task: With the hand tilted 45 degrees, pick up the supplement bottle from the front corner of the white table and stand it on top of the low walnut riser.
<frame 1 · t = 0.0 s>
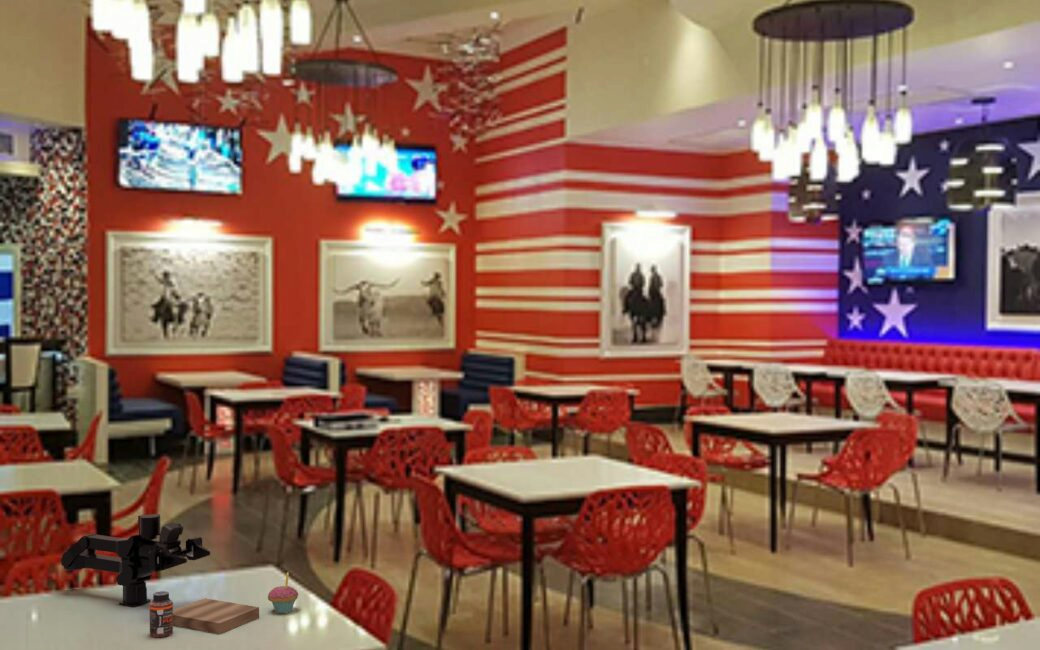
hand: (198, 557, 306), 17 cm above the table, tool horizontal, fingers open, 9 cm apart
walnut riser: (212, 620, 301), on the table
cupcake: (283, 611, 309), on the table
supplement bottle: (161, 635, 289), on the table
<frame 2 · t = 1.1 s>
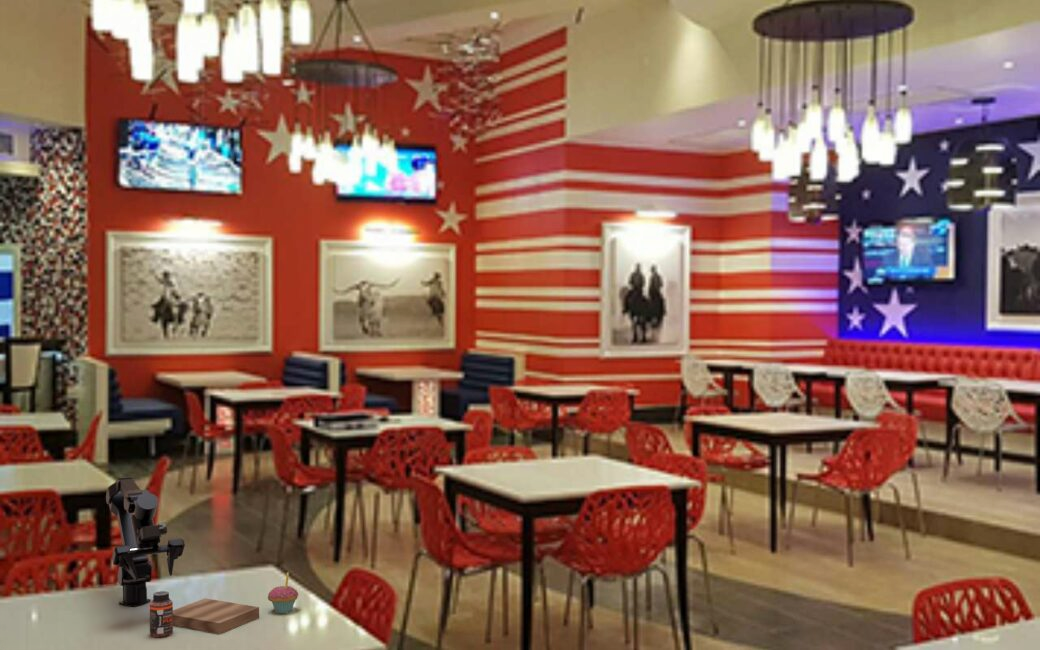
hand: (154, 577, 295), 14 cm above the table, tool tilted 45°, fingers open, 9 cm apart
nothing on the table moved.
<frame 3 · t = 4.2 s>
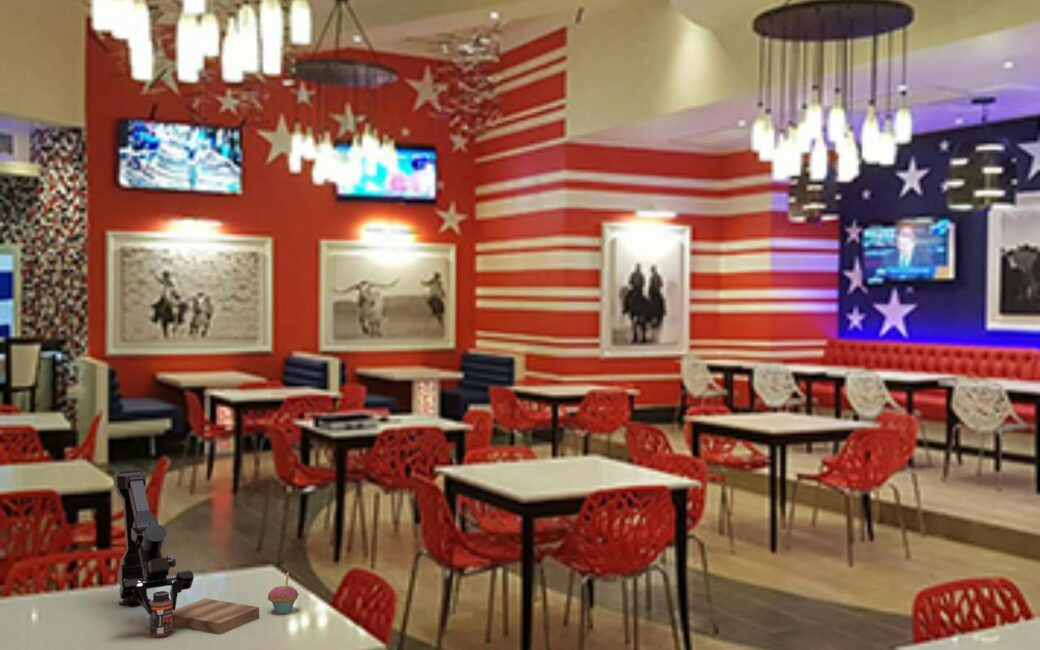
hand: (162, 611, 288), 7 cm above the table, tool tilted 45°, fingers closed on supplement bottle, 6 cm apart
supplement bottle: (161, 635, 289), on the table, touching gripper
everything else where it was.
when the fingers open (10 cm above the table, at t = 8.8 s): supplement bottle stays where it is, resting on walnut riser.
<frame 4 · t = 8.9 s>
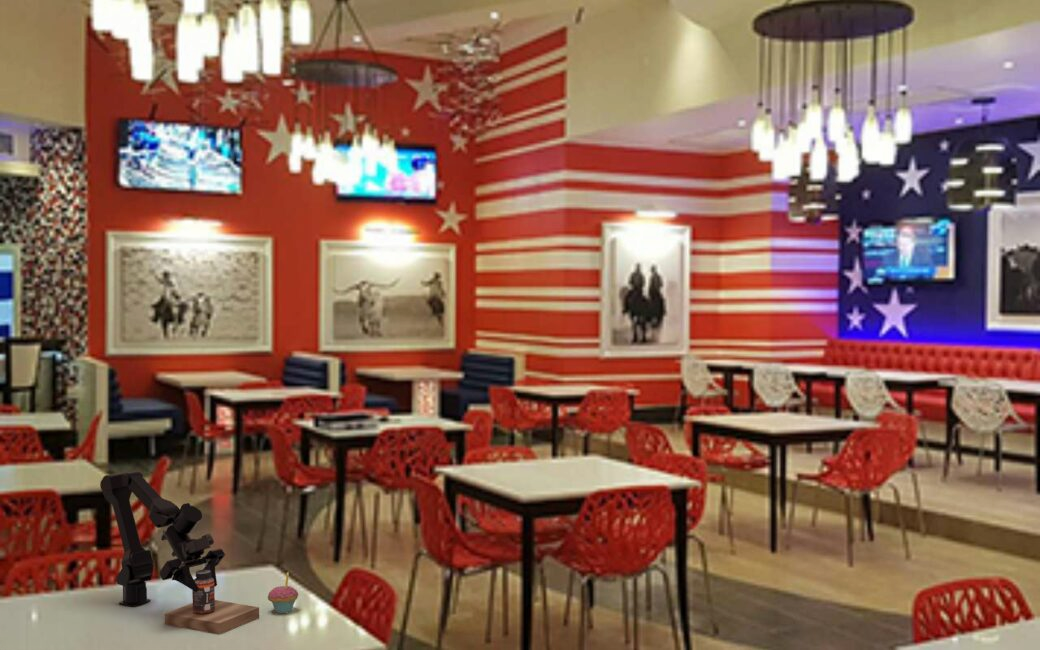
hand: (206, 588, 298), 10 cm above the table, tool tilted 45°, fingers open, 6 cm apart
supplement bottle: (203, 612, 299), point 3 cm above the table, touching walnut riser
everything else where it was.
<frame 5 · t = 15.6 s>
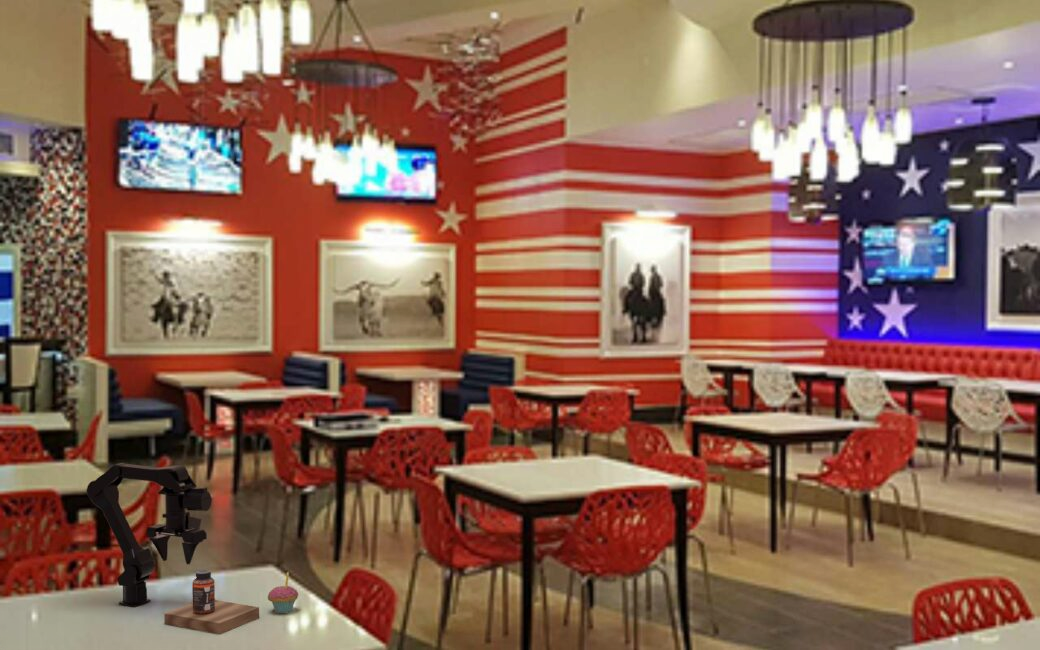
hand: (176, 562, 314), 13 cm above the table, tool pointing down, fingers open, 9 cm apart
nothing on the table moved.
at the end: supplement bottle inside the target area on the walnut riser (2.2 cm from its centre), point 2.8 cm above the walnut riser's base; supplement bottle tilted 0°; the gripper is holding nothing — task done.
